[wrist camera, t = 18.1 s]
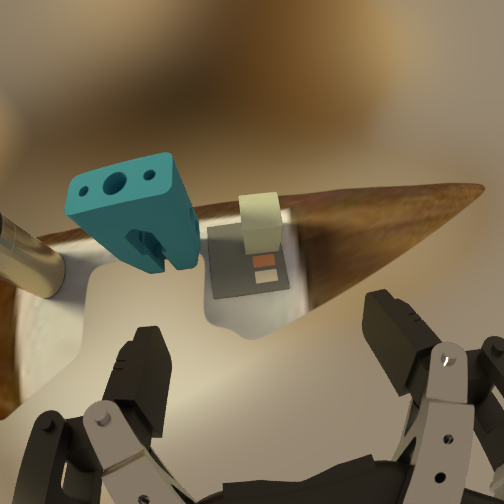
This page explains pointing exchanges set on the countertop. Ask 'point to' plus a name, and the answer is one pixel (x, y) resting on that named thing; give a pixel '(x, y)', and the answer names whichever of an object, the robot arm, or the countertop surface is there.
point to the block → (138, 212)
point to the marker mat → (242, 265)
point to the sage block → (261, 222)
